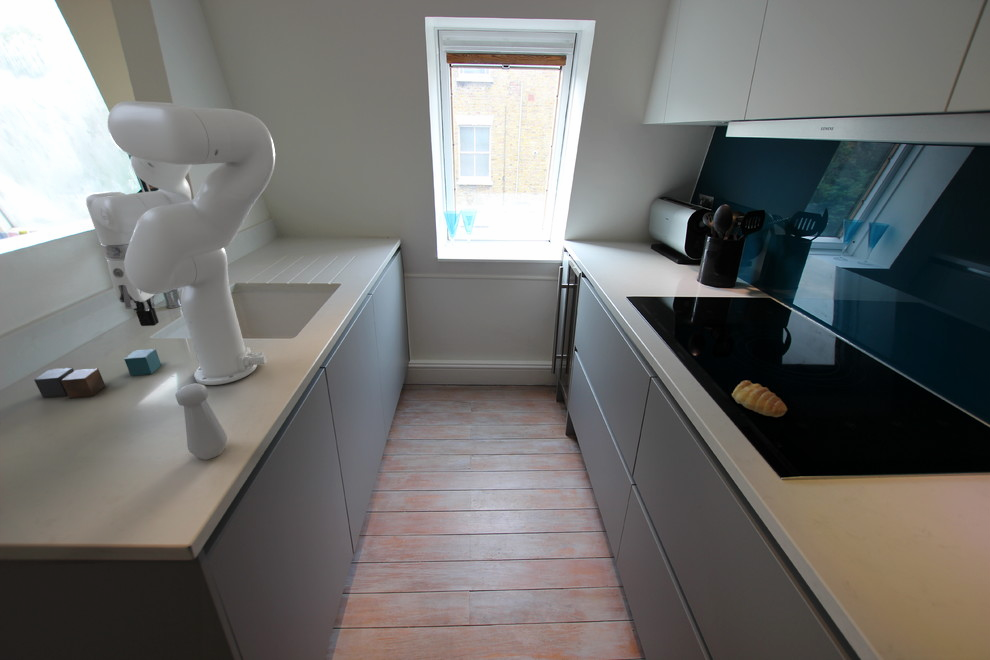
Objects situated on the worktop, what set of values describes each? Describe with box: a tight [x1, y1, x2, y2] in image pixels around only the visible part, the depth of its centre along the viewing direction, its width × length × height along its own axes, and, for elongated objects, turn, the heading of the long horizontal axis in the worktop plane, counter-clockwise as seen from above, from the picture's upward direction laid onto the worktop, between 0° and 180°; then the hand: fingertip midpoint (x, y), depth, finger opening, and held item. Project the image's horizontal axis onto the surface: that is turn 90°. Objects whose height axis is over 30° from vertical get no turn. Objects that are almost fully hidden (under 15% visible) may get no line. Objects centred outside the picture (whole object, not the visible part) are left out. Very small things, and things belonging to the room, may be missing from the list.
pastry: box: [731, 380, 788, 418], centre depth 88 cm, size 9×7×4 cm
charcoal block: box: [34, 367, 75, 399], centre depth 94 cm, size 4×4×4 cm
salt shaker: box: [175, 382, 228, 461], centre depth 74 cm, size 6×6×13 cm
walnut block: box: [61, 367, 106, 399], centre depth 94 cm, size 4×4×4 cm
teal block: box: [123, 348, 162, 377], centre depth 103 cm, size 4×4×4 cm
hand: (150, 324), depth 107 cm, fingers closed
